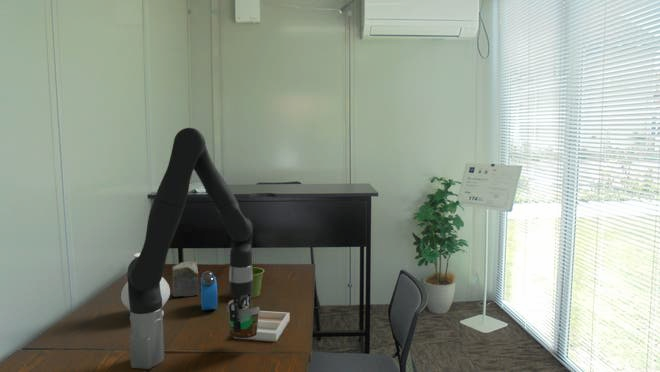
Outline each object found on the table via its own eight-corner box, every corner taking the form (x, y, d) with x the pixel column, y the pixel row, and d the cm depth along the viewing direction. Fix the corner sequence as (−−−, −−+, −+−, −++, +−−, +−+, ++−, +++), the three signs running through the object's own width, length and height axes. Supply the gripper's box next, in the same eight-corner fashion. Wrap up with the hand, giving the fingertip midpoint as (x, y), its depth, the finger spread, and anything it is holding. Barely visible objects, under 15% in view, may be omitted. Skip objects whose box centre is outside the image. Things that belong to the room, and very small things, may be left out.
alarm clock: (217, 313, 175) (216, 277, 173) (201, 315, 173) (200, 278, 171) (215, 302, 187) (214, 268, 186) (200, 304, 185) (199, 269, 184)
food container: (218, 334, 144) (218, 305, 143) (231, 327, 149) (231, 299, 148) (248, 343, 138) (248, 312, 137) (260, 335, 143) (260, 306, 143)
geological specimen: (173, 299, 190) (172, 266, 189) (172, 295, 196) (171, 262, 194) (199, 296, 195) (198, 263, 193) (197, 291, 200) (196, 259, 199)
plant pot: (252, 289, 204) (252, 265, 203) (270, 294, 197) (269, 270, 195) (232, 296, 195) (231, 271, 194) (249, 302, 187) (249, 276, 186)
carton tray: (276, 341, 151) (276, 333, 150) (233, 338, 153) (233, 330, 153) (289, 320, 169) (289, 312, 168) (251, 317, 171) (250, 310, 171)
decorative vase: (179, 310, 179) (177, 250, 176) (151, 327, 162) (148, 261, 159) (143, 305, 183) (140, 247, 181) (111, 322, 166) (108, 258, 164)
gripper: (243, 286, 135) (243, 338, 136) (259, 273, 149) (258, 320, 151) (220, 284, 136) (221, 336, 138) (238, 271, 150) (238, 318, 152)
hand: (240, 327), depth 144 cm, fingers closed on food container, 5 cm apart
